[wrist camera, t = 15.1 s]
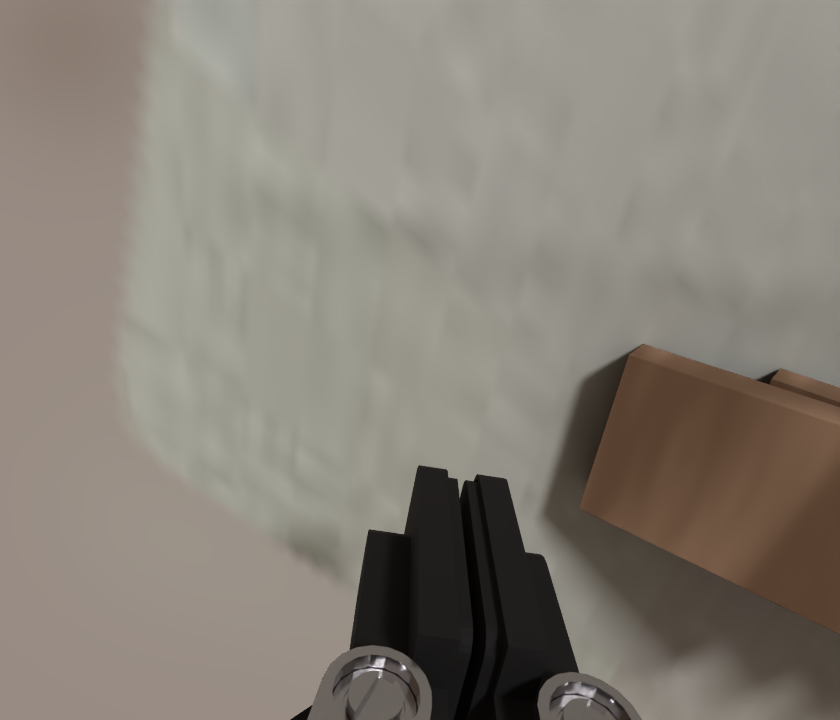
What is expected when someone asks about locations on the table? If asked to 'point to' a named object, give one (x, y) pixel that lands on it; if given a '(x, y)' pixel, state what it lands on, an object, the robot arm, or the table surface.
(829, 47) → the table surface
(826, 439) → the domino
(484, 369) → the table surface
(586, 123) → the table surface
